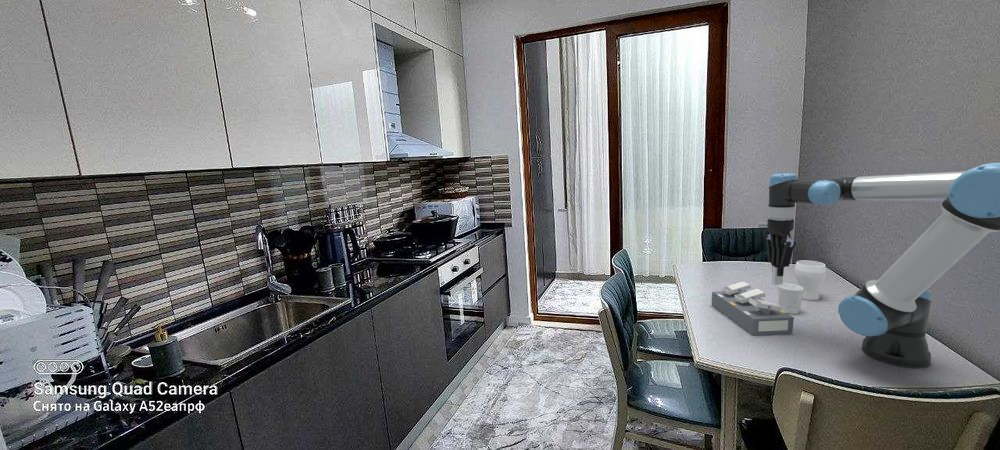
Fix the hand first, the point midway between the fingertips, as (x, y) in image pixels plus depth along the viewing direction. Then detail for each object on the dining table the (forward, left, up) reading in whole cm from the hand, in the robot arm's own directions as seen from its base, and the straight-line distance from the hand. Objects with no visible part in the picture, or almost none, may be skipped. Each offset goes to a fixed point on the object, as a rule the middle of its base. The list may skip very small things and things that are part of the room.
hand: (777, 283), depth 141 cm
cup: (+27, -32, -17) cm, 46 cm away
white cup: (+14, -15, -17) cm, 27 cm away
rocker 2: (+9, +4, -8) cm, 13 cm away
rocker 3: (0, +4, -8) cm, 9 cm away
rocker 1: (+18, +4, -8) cm, 20 cm away
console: (+9, +4, -17) cm, 19 cm away
